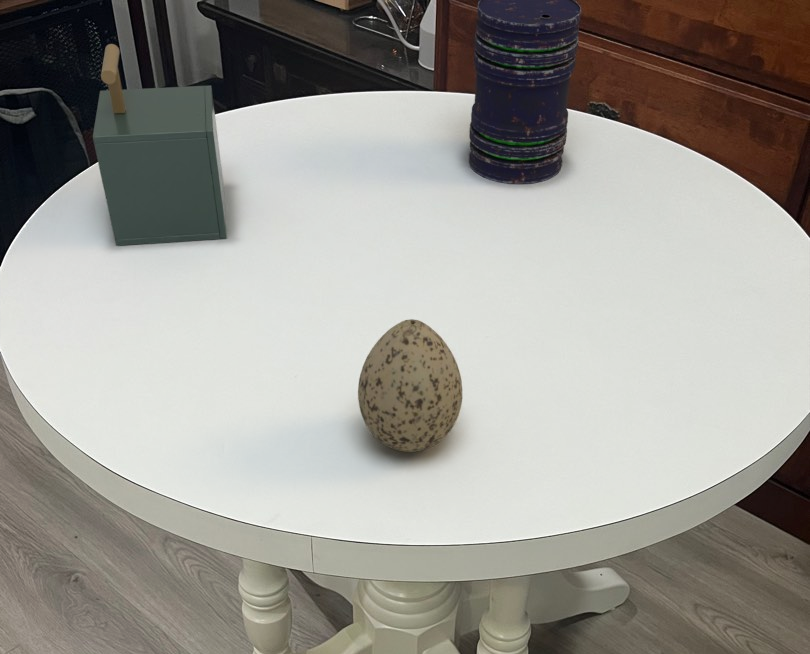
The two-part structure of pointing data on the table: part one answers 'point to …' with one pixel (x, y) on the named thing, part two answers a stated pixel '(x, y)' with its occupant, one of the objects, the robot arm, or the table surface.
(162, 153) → the green box with handle
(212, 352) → the table surface
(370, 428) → the decorative egg
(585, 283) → the table surface
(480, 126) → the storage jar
